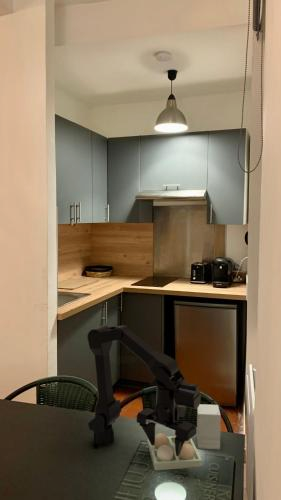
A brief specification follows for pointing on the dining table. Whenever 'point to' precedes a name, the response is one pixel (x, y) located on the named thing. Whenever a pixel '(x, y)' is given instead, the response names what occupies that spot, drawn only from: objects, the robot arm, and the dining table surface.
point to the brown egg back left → (161, 440)
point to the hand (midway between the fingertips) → (165, 450)
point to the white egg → (164, 453)
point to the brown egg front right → (187, 452)
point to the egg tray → (174, 457)
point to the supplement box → (208, 426)
